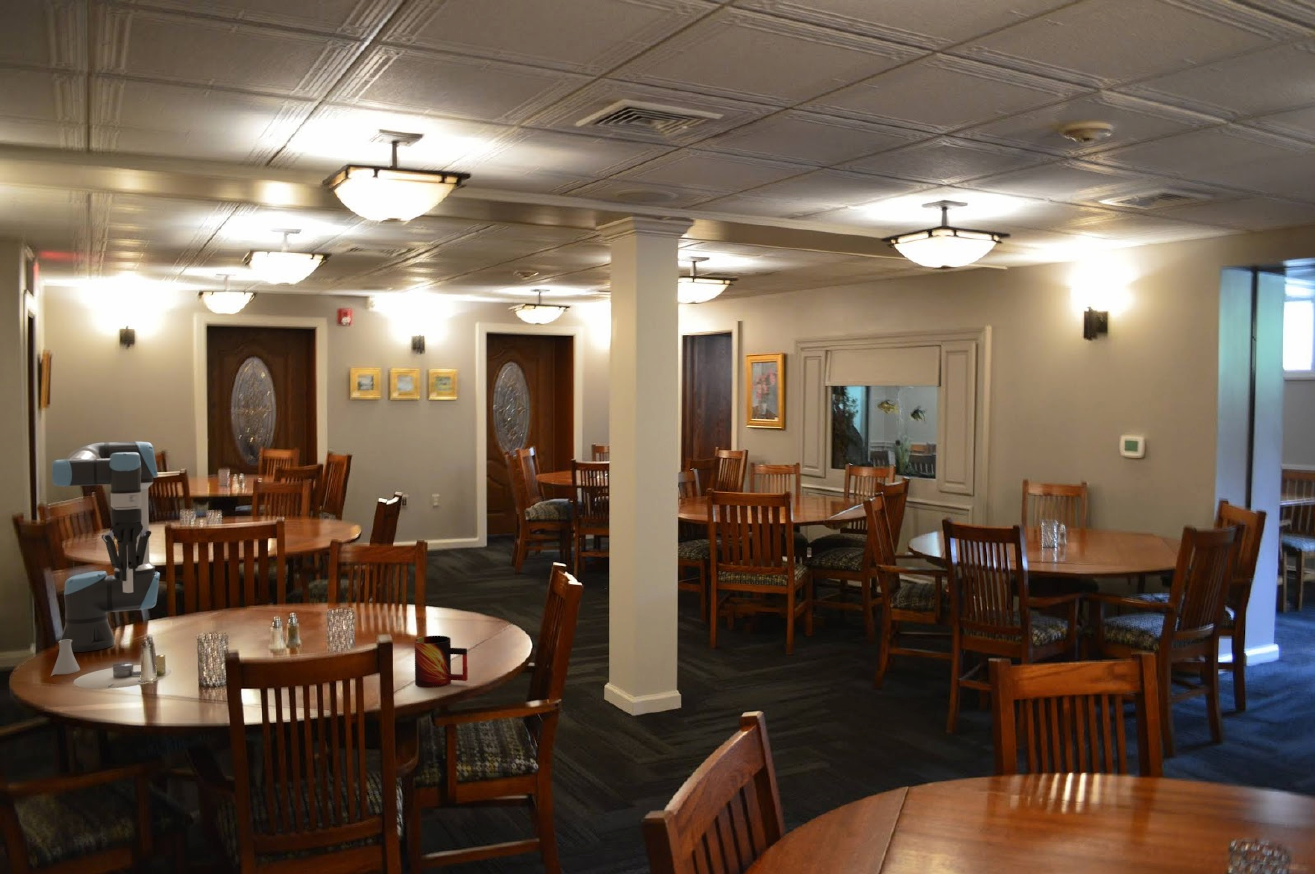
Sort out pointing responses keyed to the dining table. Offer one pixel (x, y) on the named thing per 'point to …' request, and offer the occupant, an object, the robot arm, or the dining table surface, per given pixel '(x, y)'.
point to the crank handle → (127, 670)
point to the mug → (437, 662)
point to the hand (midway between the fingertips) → (128, 591)
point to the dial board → (112, 679)
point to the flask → (65, 659)
